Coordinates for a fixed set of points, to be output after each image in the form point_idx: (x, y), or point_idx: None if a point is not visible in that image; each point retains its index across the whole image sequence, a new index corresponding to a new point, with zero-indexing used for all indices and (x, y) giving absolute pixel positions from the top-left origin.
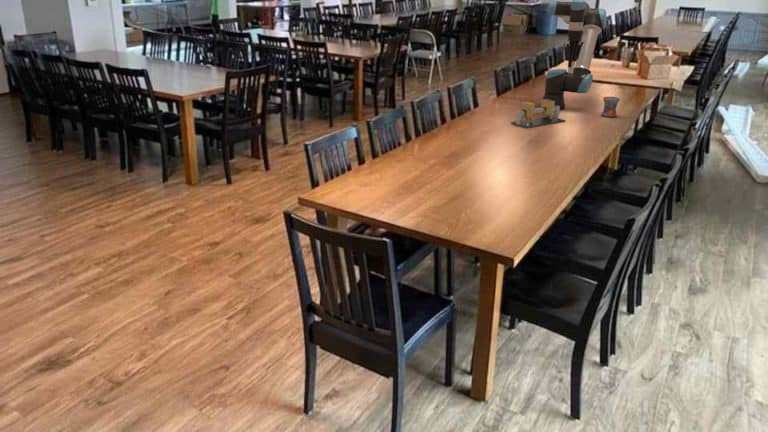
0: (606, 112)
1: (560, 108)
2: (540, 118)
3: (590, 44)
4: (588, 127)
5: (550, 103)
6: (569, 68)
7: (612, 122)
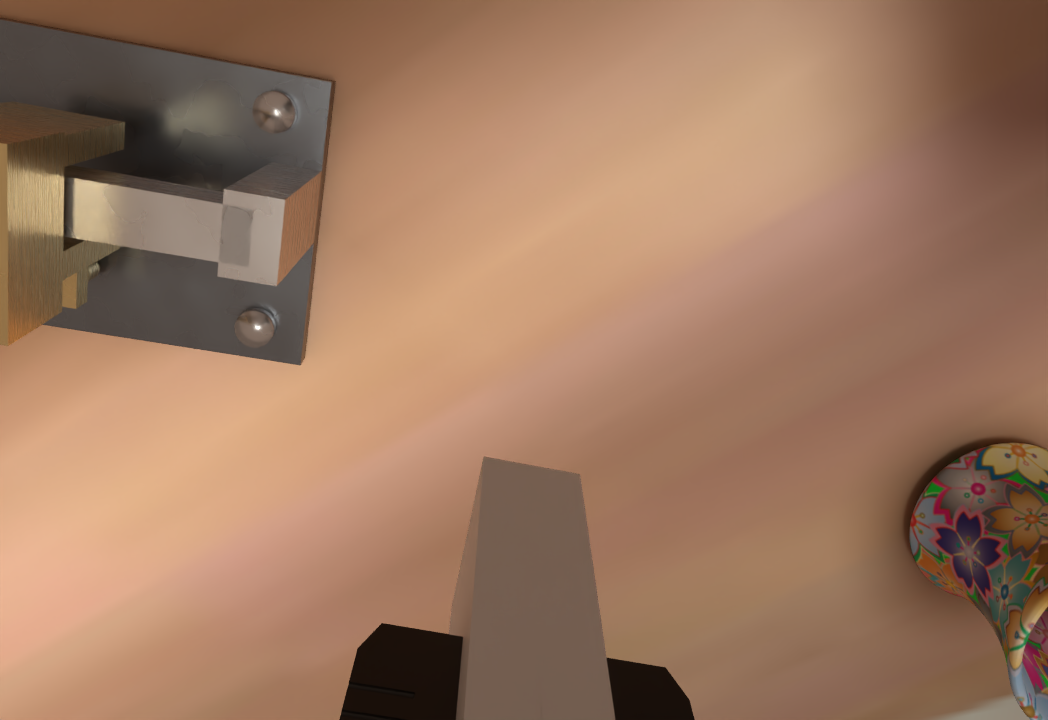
0: (941, 543)
1: None
2: (80, 84)
3: None
4: (303, 641)
5: None
6: (461, 618)
7: (710, 675)
